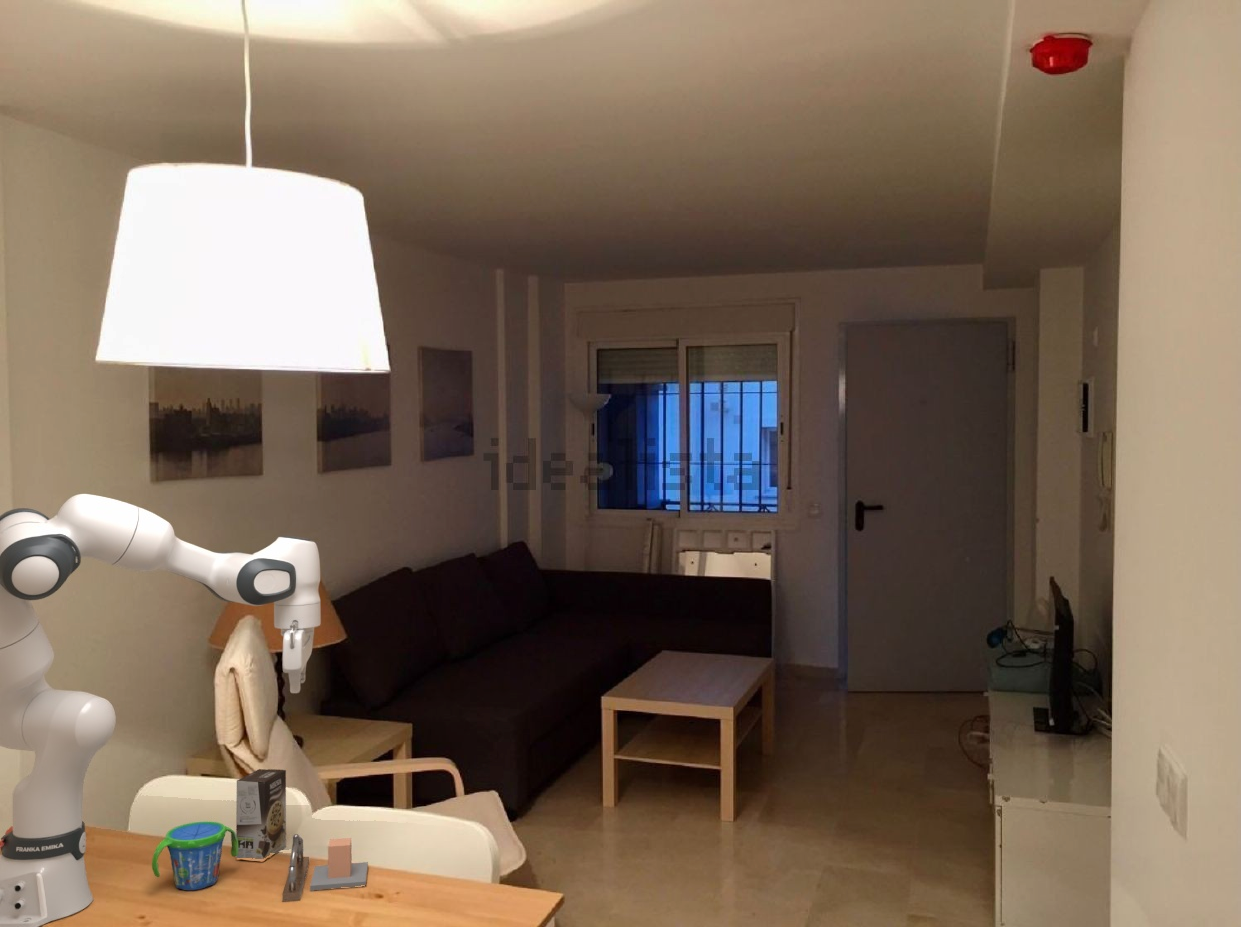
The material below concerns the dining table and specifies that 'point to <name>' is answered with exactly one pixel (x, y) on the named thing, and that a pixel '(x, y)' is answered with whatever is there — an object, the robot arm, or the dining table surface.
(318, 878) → the mat
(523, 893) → the dining table surface
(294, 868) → the metal door handle
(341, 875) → the block
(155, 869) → the snack cup
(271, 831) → the coffee box
